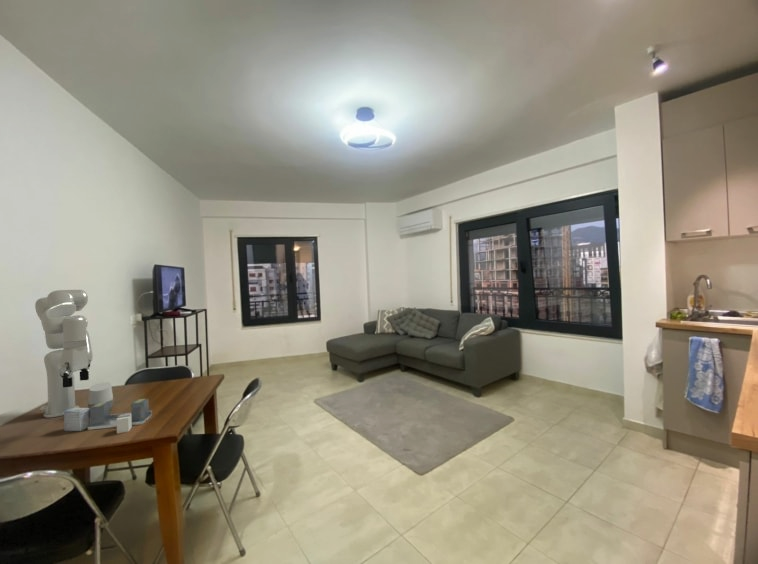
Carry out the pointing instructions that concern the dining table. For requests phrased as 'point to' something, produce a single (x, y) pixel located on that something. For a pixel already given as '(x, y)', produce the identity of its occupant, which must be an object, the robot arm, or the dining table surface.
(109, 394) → the smart speaker
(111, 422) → the rail
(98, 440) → the dining table surface
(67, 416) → the medicine box
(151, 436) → the dining table surface
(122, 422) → the block
